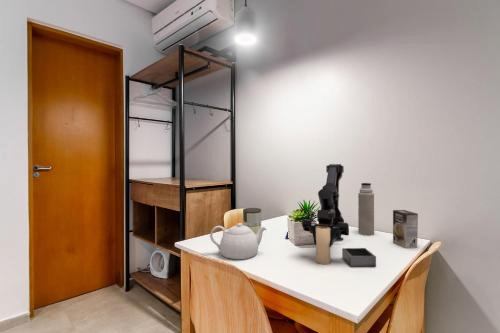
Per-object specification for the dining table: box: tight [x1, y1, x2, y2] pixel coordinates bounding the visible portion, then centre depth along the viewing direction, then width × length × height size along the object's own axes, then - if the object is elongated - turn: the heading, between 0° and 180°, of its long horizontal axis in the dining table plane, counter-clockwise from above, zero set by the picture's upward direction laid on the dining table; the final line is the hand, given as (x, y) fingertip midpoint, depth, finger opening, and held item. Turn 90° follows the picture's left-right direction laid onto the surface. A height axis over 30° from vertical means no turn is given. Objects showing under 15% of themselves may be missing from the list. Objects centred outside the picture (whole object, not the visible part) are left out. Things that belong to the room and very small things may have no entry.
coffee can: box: [242, 207, 262, 235], centre depth 147 cm, size 10×10×14 cm
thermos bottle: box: [357, 182, 375, 236], centre depth 146 cm, size 8×8×28 cm
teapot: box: [209, 222, 267, 260], centre depth 118 cm, size 19×18×14 cm
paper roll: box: [315, 226, 332, 265], centre depth 107 cm, size 6×6×14 cm
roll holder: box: [341, 247, 377, 268], centre depth 106 cm, size 10×10×4 cm
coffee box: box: [392, 209, 419, 249], centre depth 126 cm, size 9×6×16 cm
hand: (322, 245), depth 106 cm, fingers closed on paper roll, 6 cm apart
